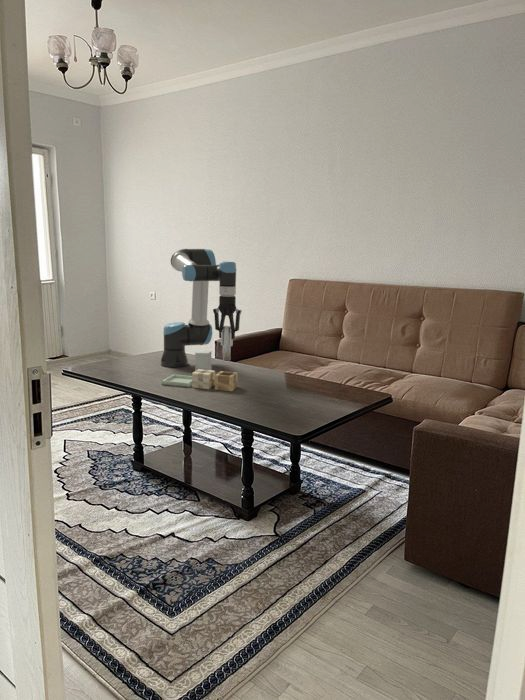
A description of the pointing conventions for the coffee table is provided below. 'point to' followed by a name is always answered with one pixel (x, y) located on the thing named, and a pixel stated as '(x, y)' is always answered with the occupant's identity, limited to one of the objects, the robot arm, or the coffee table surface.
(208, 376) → the birch block
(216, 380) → the oak block
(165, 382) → the tray
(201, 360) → the supplement box
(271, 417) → the coffee table surface
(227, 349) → the rod
